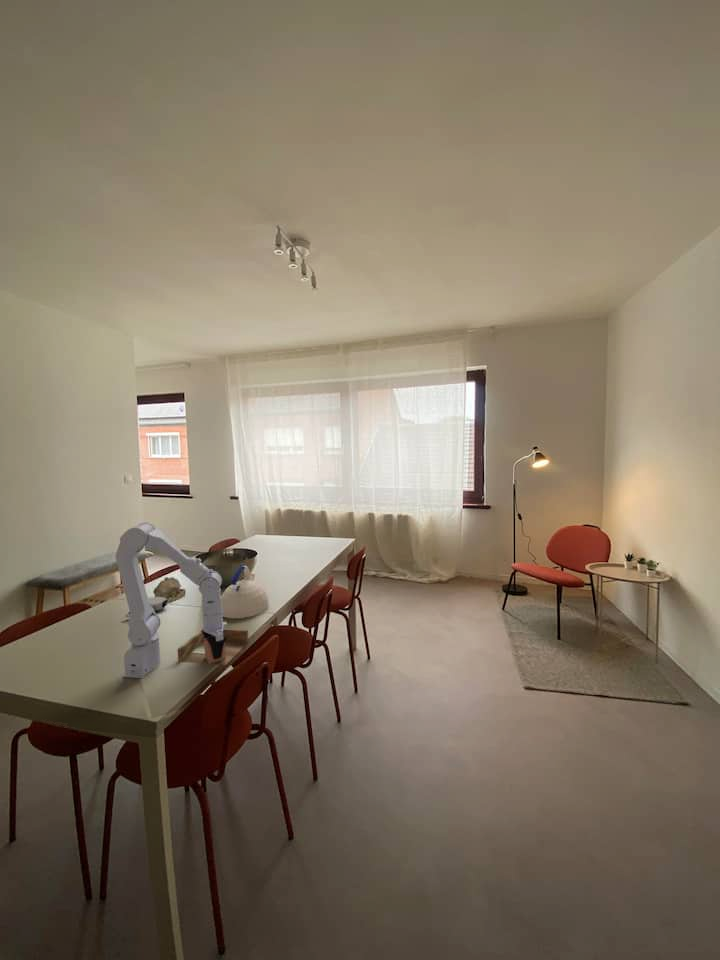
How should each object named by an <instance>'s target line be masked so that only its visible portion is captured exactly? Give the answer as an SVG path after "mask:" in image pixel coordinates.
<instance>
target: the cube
mask: <svg viewBox="0 0 720 960" xmlns="http://www.w3.org/2000/svg"><path fill="white" fill-rule="evenodd" d="M212 637H213V636H212ZM208 638H209V637H208ZM204 647H205V658H206V659H207V661H208V663H209V664H208V665H211V664H210V663H213V662H216V661H220V660H223V659H226V654H225V643H224V646H223V651H222V656H221V658H218V659H214V658H213V654H212V650H211V646H210V644H209V642H208V641H207V638H204Z"/></svg>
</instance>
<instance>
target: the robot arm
mask: <svg viewBox="0 0 720 960" xmlns="http://www.w3.org/2000/svg"><path fill="white" fill-rule="evenodd" d="M143 549H144V550H147V551H149V550H153V551H155V550H156V551H158V552H160V553H162V554H163V555H164V556H165V557H167V558H168V559H169V560H171V561H173V562H174V563H176V565H178V566H179V571H180V573H181V574H182V575H183V576H184V577H186V578H187V579H188V580H190V581H191V582H192V583H193V584H195V585H196V586H197V587H198V591H199V593H200V594H201V604H202V605H201V606H202V607H201V608H202V622H203V623H202V624H203V627H202V629H203V630H202V629H201V630H200V631H201V632H202V633H203V635H204V637H205V638H207V641H208V642H209V644H210V646H211V650H212V654H213V658H214V659H218V658H221V656H222V651H223V646H224V643H225V641H226V639H227V635H226V634H224V635H223V629H225V627H227V626H228V623H227V621H224V618H223V614H222V597H221V596H222V592H221V591H222V590H221V589H222V588H221V585H222V583H223V578H222V576H221V574H220V573H219V572H218V571H216V570H213V569H210V568H208V567H207V566H206V565H205V564H204V563H203V562H202V559H201V558H200V557H198V558H197V557H196V556H187V555H186V554H185V553H184V552H183V551H182V550H181V549H180V548H179V547H178V546H177V545H176V544H174V543H173V542H172V540H171V539H169V538H168V537H167V536H166V535H165V534H164V533H163V532H162V531H161V530H160V529H159V528H156V527H155V526H154V524H152V523H149V522H142V523H140V524H138V525H136V526H133V527H131V528H129V529H127V530H125V532H124V533H123V534H122V535H121V537H119V544H118V547H117V550H116V553H115V561H116V565H117V569H118V571H119V576H120V580H121V584H122V588H123V590H124V595H125V599H126V602H127V607H128V609H129V612H130V617H128V621H127V622H128V623H127V625H128V633H127V639H128V641H129V642H130V643H131V645H130V647H129V648H128V649H127V650H126V652H124V656H123V663H124V664H123V665H124V674H123V675H122V677H123V678H130V679H131V678H132V679H133V678H134V679H143V677H145V676H146V675H148V674H149V673H150V672H151V671H154V670H155V669H158V667H159V666H161V662H162V661H161V647H160V637H159V632H158V629H159V627H160V626H161V618H160V617H159V615H158V614H157V613H156V611H154V608H153V607H151V606H150V605H149V601H148V598H149V597H148V594H147V591H146V586H145V583H144V579H143V578H144V577H143V575H142V571H141V568H140V567H141V566H140V563H139V559H138V556H139V555H140V554H141V552H142V550H143ZM212 636H213V637H212ZM208 637H209V638H208Z"/></svg>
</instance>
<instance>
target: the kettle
mask: <svg viewBox="0 0 720 960" xmlns="http://www.w3.org/2000/svg"><path fill="white" fill-rule="evenodd" d="M243 571H244V572H243ZM250 571H251V570H250V569H249V567H248V566H246V565H241V566H240V567H238V569H237V570H235V573H234V574H233V576H232V579H231V582H230V585H229V586H228V587H227V588H226V589H225V590H224V591H223V593H221V597H222V614H223V617H224V618H227V619H234V618H236V619H245V617H247V618H251V617H255V616H257V614H258V615H261V614H262V613H264V612H265V611H266V609H267V610H268V609H269V607H270V604H269V596H268V593H267V591H266V590H265V588H264V587H263V586H262V585H261V584H259V583H257V582H256V581H255V577H256V574H255V573H254V572H250ZM242 572H243V573H244V579H242V580H238V579H239V576H240V575H241V573H242ZM254 615H255V616H254ZM250 616H251V617H250Z"/></svg>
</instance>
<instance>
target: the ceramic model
mask: <svg viewBox="0 0 720 960" xmlns="http://www.w3.org/2000/svg"><path fill="white" fill-rule="evenodd" d="M181 587H182V585H181V583H180V581H179V580H178V579H177V578H175V577H172V576H171V577H168V576H166V577H164V579H163V580H161V581H159V582H158V585H156V587H154V589H153V594H154V597H164V598H166V599H167V601H169V599H170V598H171V599H170V601H169V602H168V604H171V603H172V602H175V601H178V600H179V599H182V598H184V596H185V595H186V593H187V592H186V591H187V590H186V589H185V588H181Z"/></svg>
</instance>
